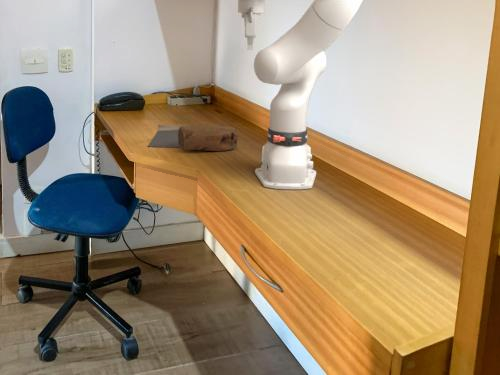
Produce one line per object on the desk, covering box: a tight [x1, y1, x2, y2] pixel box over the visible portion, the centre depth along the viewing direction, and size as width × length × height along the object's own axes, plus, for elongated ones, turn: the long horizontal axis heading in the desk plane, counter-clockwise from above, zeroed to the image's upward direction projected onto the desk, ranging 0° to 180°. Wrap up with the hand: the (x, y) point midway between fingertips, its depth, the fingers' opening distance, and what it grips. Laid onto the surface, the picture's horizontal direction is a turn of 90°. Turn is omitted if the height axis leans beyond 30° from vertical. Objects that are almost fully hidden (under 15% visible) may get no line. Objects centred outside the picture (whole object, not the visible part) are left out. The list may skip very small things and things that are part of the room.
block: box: [178, 124, 239, 152], centre depth 209 cm, size 11×8×20 cm
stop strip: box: [157, 124, 188, 131], centre depth 235 cm, size 2×18×2 cm, turn 90°
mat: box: [147, 130, 182, 149], centre depth 222 cm, size 24×18×1 cm
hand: (250, 49), depth 205 cm, fingers closed
